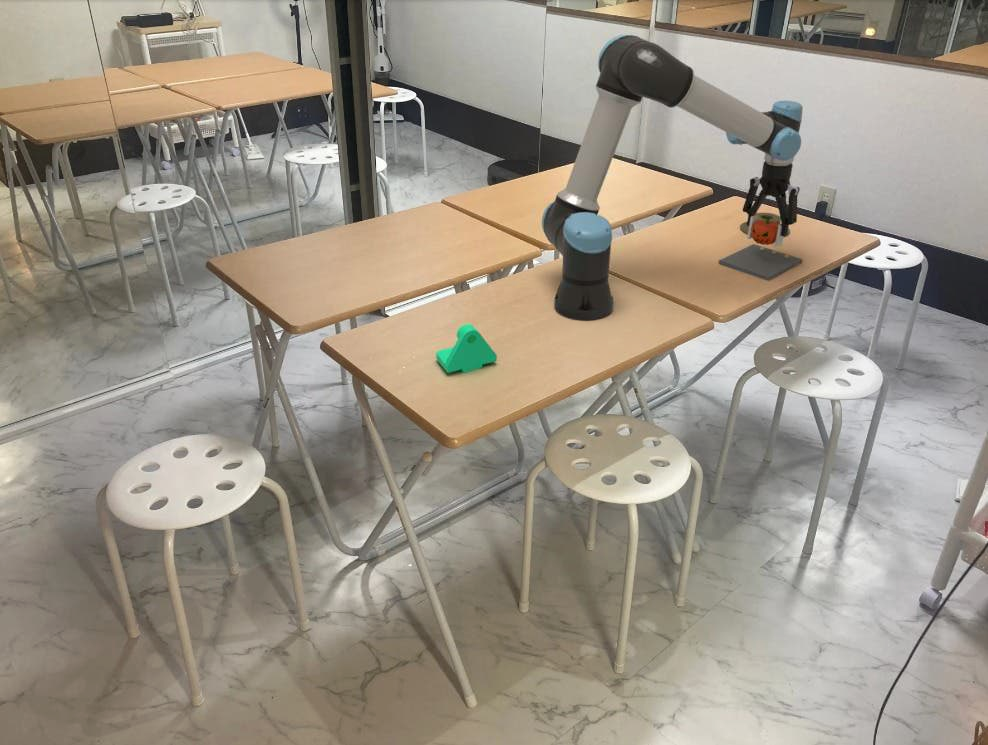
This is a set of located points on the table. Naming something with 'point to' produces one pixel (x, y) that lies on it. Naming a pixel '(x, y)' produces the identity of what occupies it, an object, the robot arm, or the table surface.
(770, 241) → the pumpkin
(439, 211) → the table surface
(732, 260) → the mat
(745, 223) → the flange
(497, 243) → the table surface
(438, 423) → the table surface
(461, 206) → the table surface
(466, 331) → the camera mount
